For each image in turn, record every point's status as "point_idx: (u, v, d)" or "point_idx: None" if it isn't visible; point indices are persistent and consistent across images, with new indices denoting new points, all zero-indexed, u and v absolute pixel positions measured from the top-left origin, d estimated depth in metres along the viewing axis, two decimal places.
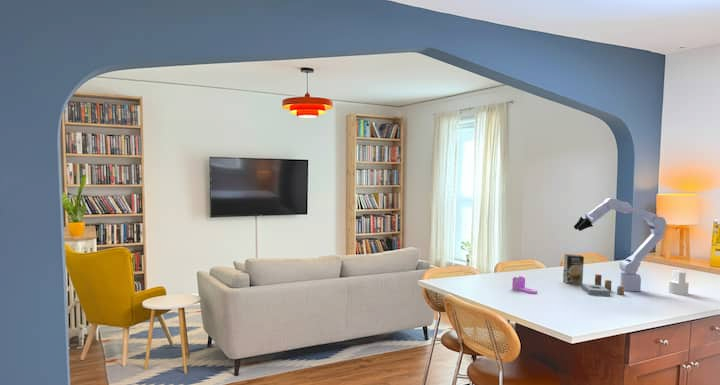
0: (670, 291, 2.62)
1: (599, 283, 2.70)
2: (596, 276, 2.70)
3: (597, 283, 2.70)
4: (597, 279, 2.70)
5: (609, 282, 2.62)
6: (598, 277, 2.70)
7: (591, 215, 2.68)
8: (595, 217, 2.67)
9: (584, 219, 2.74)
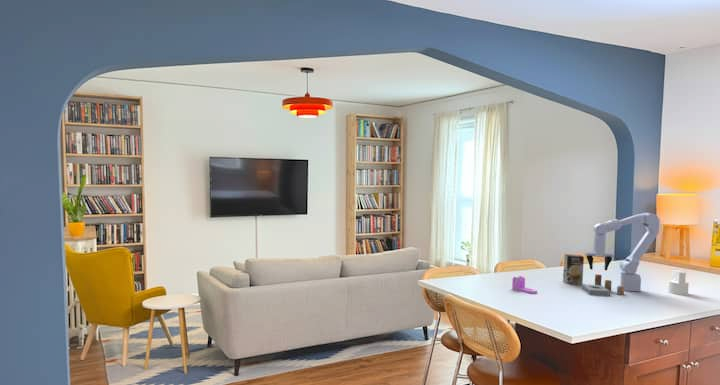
0: (670, 291, 2.62)
1: (599, 283, 2.70)
2: (596, 276, 2.70)
3: (597, 283, 2.70)
4: (597, 279, 2.70)
5: (609, 282, 2.62)
6: (598, 277, 2.70)
7: None
8: (594, 249, 2.71)
9: (606, 257, 2.71)
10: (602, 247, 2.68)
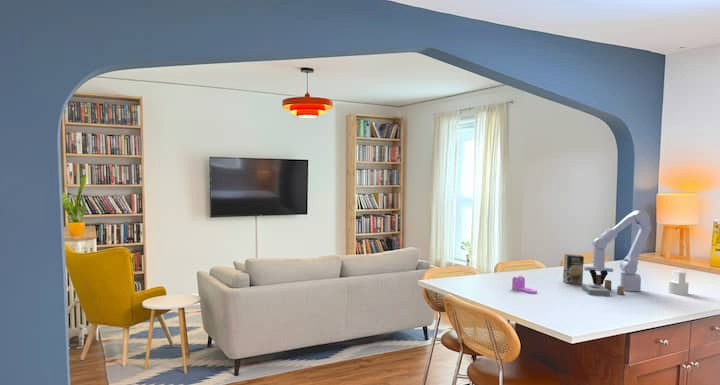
0: (670, 291, 2.62)
1: (599, 283, 2.70)
2: (596, 276, 2.70)
3: (597, 283, 2.70)
4: (597, 279, 2.70)
5: (609, 282, 2.62)
6: (598, 277, 2.70)
7: None
8: (593, 263, 2.71)
9: None
10: (601, 262, 2.68)
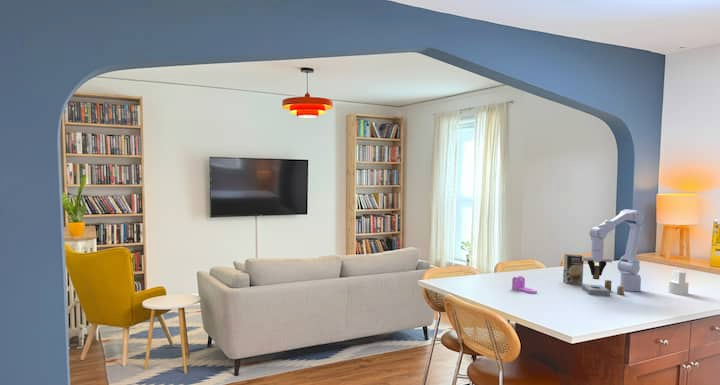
0: (670, 291, 2.62)
1: (597, 274, 2.58)
2: (594, 267, 2.59)
3: (595, 274, 2.59)
4: (595, 270, 2.59)
5: (609, 282, 2.62)
6: (596, 268, 2.58)
7: None
8: (591, 254, 2.59)
9: None
10: (600, 252, 2.57)
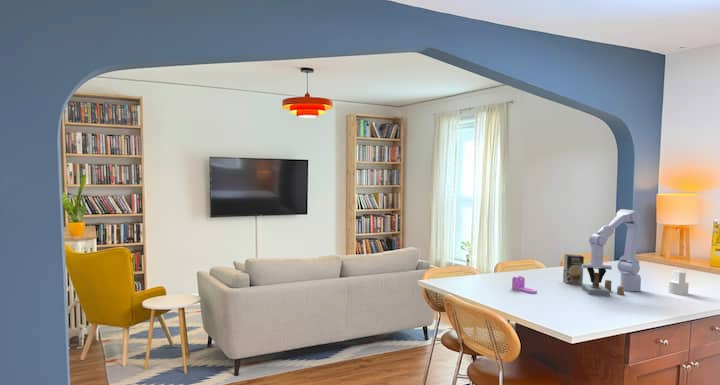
0: (670, 291, 2.62)
1: (597, 281, 2.58)
2: (594, 274, 2.58)
3: (595, 281, 2.58)
4: (595, 278, 2.58)
5: (609, 282, 2.62)
6: (596, 275, 2.58)
7: None
8: (591, 261, 2.59)
9: None
10: (600, 259, 2.56)
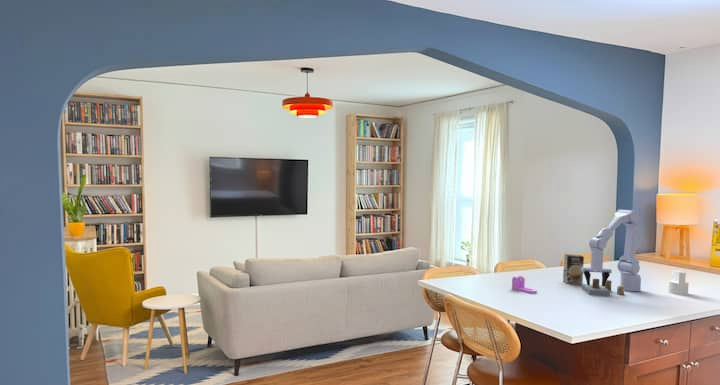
0: (670, 291, 2.62)
1: (597, 287, 2.58)
2: (594, 280, 2.59)
3: (595, 287, 2.58)
4: (594, 284, 2.58)
5: (609, 282, 2.62)
6: (596, 281, 2.58)
7: None
8: (591, 264, 2.59)
9: None
10: (599, 262, 2.56)
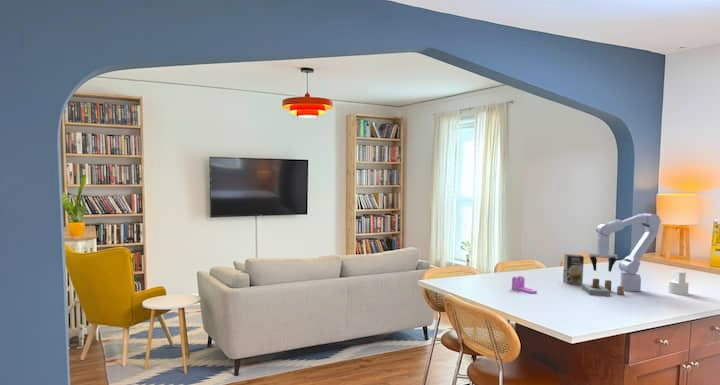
0: (670, 291, 2.62)
1: (597, 287, 2.58)
2: (593, 280, 2.59)
3: (595, 287, 2.58)
4: (594, 284, 2.58)
5: (609, 282, 2.62)
6: (596, 281, 2.58)
7: None
8: (598, 250, 2.67)
9: (609, 258, 2.68)
10: (606, 248, 2.65)
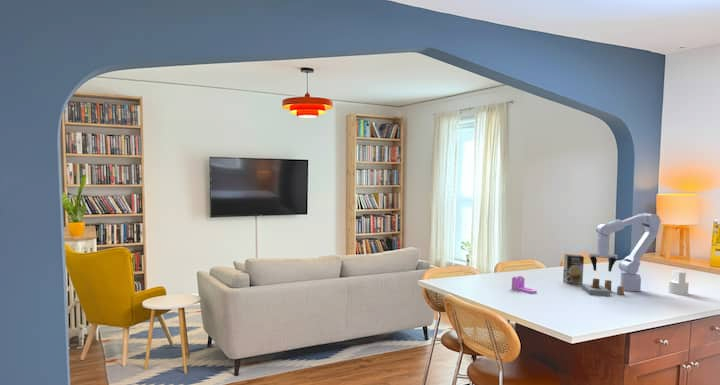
0: (670, 291, 2.62)
1: (597, 287, 2.58)
2: (594, 280, 2.59)
3: (595, 287, 2.58)
4: (594, 284, 2.58)
5: (609, 282, 2.62)
6: (596, 281, 2.58)
7: None
8: (598, 250, 2.67)
9: (609, 258, 2.68)
10: (606, 248, 2.65)
